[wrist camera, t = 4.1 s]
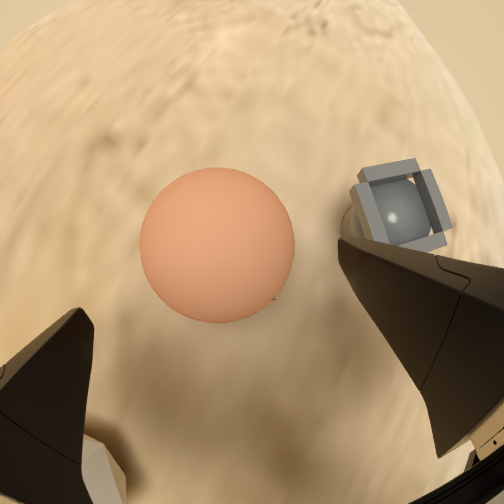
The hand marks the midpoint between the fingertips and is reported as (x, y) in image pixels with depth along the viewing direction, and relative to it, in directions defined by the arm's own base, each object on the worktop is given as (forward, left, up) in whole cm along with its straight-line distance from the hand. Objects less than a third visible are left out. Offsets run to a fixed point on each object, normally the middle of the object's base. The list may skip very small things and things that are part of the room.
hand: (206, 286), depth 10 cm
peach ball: (+1, -1, -2) cm, 3 cm away
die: (+3, +18, -10) cm, 21 cm away
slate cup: (-6, -8, -10) cm, 15 cm away
